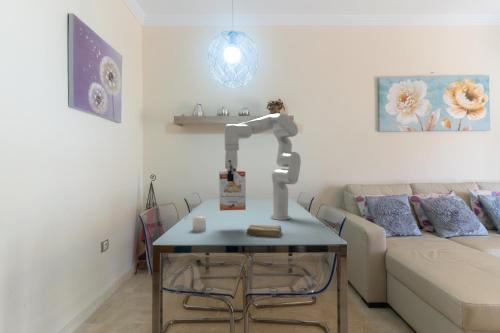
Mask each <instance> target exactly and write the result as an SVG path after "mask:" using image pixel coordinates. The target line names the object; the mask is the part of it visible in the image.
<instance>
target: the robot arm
mask: <svg viewBox="0 0 500 333" xmlns="http://www.w3.org/2000/svg"><path fill="white" fill-rule="evenodd" d="M271 130H272V131H273V134H274V136H275V138H276V140H277V142H278V148H277V149H278V150H277V155H276V165H277V166H279V167H282V168H276V169H274V170H273V171H272V173H271V180H272V188H273V190H272V193H273V194H272V195H273V196H272V199H273V200H272V202H273V203H272V215H270V218H271V219H272V220H277V221H279V220H280V221H284V220H285V221H286V220H290V219H291V215H289V188H288V185H295V184H297V183H298V181H299V176H300V170H301V163H302V161H301V159H302V158H301V156H300V153H299V152H297V151H296V152H295V151H292V149H293V143H292V141H291V139H290V138H292V137H296V136H297V134H298V133H299V128H298V125H297V124H296V122H294V121H293V120H292V119H291V118H290V117H288V116H287V115H286V114H284V113H281V112H280V113H273V114H268V115H265V116H262V117H259V118H255V119H252V120H249V121H244V122H241V123H238V124H226V125H225V126H224V151H225V156H224V157H225V159H224V169H225V170H226V171H227V181H229V182H233V181H234V176H233V171H238V170H237V168H238V162H239V161H238V151H240V150H239V148H240V145H239V143H240V142H239V140H244V139H249V138H251V136H252V135H257V134H262V133H265V132H266V131H267V132H268V131H271ZM283 167H284V168H283Z"/></svg>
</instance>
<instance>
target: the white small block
mask: <svg viewBox="0 0 500 333" xmlns="http://www.w3.org/2000/svg"><path fill="white" fill-rule="evenodd" d="M206 230H207V216H206V215H193V216H192V231H193V232H205V231H206Z"/></svg>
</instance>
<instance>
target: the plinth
mask: <svg viewBox="0 0 500 333" xmlns="http://www.w3.org/2000/svg"><path fill="white" fill-rule="evenodd" d="M281 233H282V226H281V225H271V224H270V225H268V224H250V225H249V226H248V228H247V229H246V236H247V235H249V236H248V237H262V236H263V238H264V237H266V238H268V237H269V238H280V236H281Z"/></svg>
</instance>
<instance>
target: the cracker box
mask: <svg viewBox="0 0 500 333" xmlns="http://www.w3.org/2000/svg"><path fill="white" fill-rule="evenodd" d="M233 176H234V181H233V182H229V181H227V170H223V171H222V170H221V171H219V182H218V183H219V184H218V185H219V211H239V210H240V211H241V210H242V211H244V210H245V211H246V209H247V208H246V204H247V203H246V202H247V201H246V200H247V199H246V196H247V195H246V191H247V190H246V183H247V182H246V171H245V170H237V171H233Z"/></svg>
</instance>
